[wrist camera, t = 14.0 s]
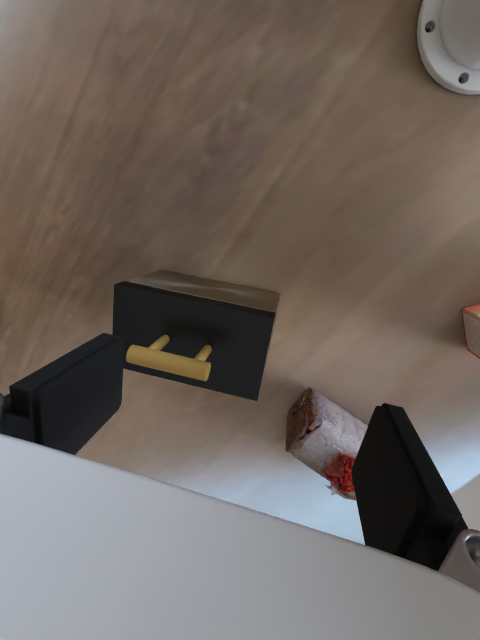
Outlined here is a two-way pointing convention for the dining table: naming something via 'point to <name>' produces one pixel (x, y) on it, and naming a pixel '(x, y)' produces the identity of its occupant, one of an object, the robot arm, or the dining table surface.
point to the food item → (325, 439)
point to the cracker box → (472, 328)
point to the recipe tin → (195, 330)
